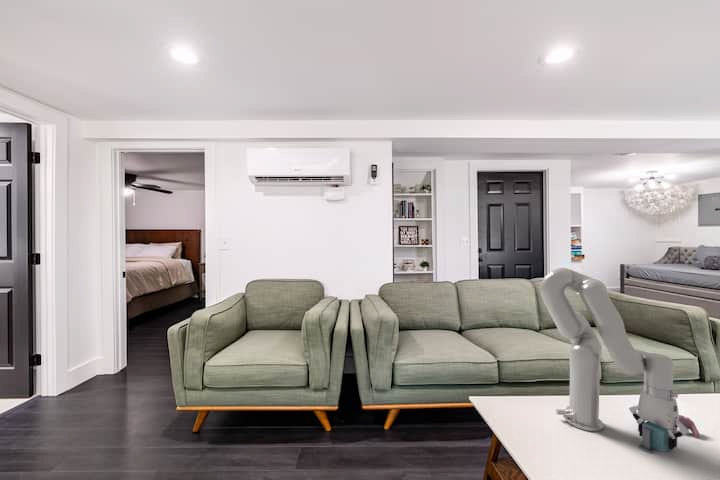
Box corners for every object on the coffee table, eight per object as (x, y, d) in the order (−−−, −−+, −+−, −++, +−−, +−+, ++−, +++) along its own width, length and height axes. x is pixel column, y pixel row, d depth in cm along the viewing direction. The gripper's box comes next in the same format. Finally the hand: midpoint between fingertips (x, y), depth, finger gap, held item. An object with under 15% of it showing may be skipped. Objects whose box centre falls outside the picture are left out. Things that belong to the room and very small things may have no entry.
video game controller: (694, 437, 124) (689, 416, 127) (701, 438, 120) (696, 416, 123) (661, 432, 127) (657, 411, 130) (667, 433, 123) (663, 411, 126)
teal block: (662, 451, 113) (663, 432, 113) (642, 442, 118) (642, 423, 118) (671, 447, 116) (671, 428, 116) (650, 437, 121) (651, 419, 121)
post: (651, 453, 112) (651, 432, 112) (638, 447, 115) (638, 427, 115) (656, 450, 114) (657, 430, 114) (644, 444, 117) (644, 424, 117)
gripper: (696, 399, 111) (695, 453, 111) (634, 379, 126) (633, 426, 127) (685, 404, 107) (684, 459, 108) (623, 382, 123) (622, 430, 123)
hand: (656, 441), depth 117 cm, fingers open, 7 cm apart
